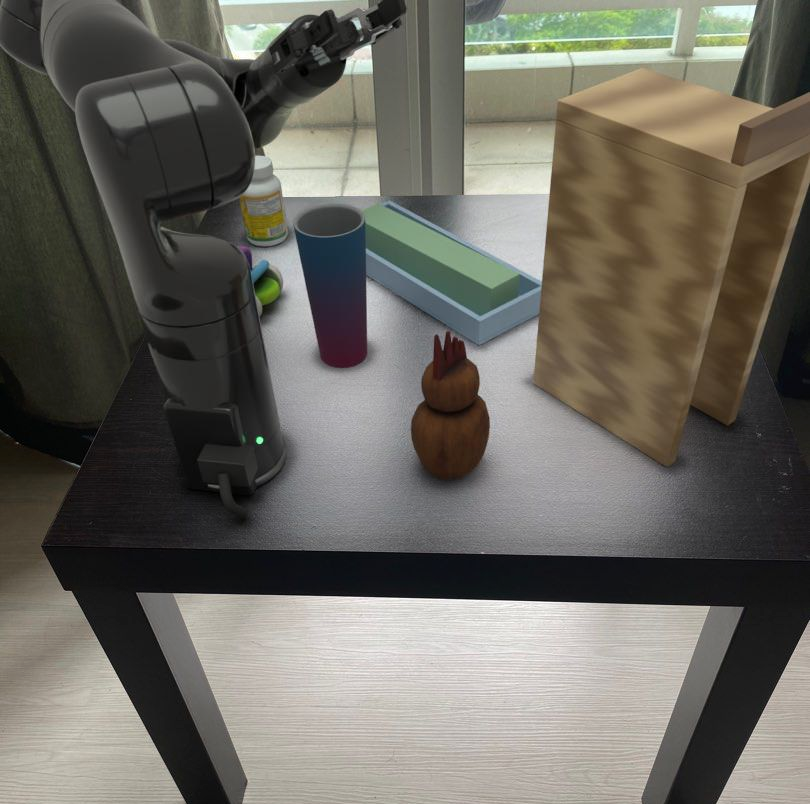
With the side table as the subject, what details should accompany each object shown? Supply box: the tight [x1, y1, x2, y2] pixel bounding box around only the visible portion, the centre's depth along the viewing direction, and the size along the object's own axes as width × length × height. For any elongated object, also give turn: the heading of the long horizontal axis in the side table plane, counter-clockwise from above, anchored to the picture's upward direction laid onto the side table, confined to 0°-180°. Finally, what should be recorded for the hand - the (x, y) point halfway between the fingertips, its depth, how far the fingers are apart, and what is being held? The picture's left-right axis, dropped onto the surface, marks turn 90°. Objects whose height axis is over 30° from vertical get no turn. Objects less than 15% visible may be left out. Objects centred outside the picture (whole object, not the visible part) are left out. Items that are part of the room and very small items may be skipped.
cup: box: [292, 202, 368, 369], centre depth 85 cm, size 7×7×15 cm
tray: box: [366, 200, 542, 346], centre depth 99 cm, size 28×10×3 cm, turn 39°
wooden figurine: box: [410, 330, 491, 481], centre depth 72 cm, size 7×6×15 cm
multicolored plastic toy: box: [237, 245, 284, 317], centre depth 95 cm, size 8×10×7 cm
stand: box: [532, 67, 810, 468], centre depth 72 cm, size 17×10×30 cm, turn 39°
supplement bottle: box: [238, 155, 289, 247], centre depth 105 cm, size 5×5×10 cm
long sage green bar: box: [360, 203, 520, 316], centre depth 98 cm, size 24×4×4 cm, turn 41°
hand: (368, 10), depth 85 cm, fingers open, 8 cm apart
